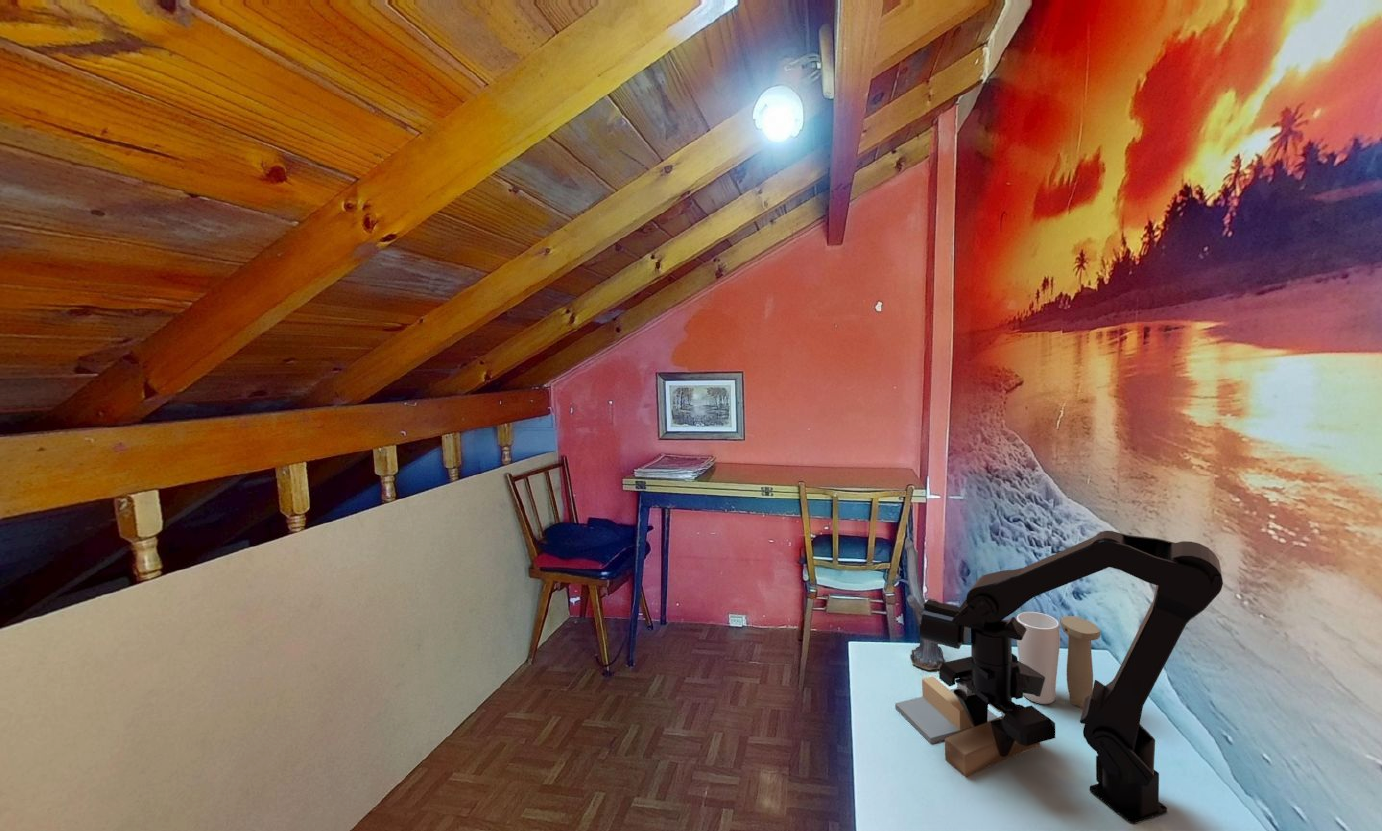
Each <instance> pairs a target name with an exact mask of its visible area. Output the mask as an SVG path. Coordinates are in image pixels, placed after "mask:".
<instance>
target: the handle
mask: <svg viewBox="0 0 1382 831" xmlns="http://www.w3.org/2000/svg"><path fill="white" fill-rule="evenodd" d="M1059 619H1060V620H1059V625H1060V626H1061V629H1062V630H1063V632H1064V633H1065V634H1066V635H1067V636H1068V644H1067V659H1066V661H1067V662H1066V685H1067V690H1068V694H1069V703H1071V705H1073V706H1077V707H1078V708H1081V709H1083V706H1084V702H1085V698H1086V697H1088V696H1089V695H1090V694H1091V693H1092V691H1093V686H1094V668H1093V667H1094V666H1093V655H1092V641H1096V640H1098V639H1099V638H1100V637H1101V630H1100V629H1099V627H1098V626H1097V625H1096V624H1095V623H1093V622H1092V621H1090V620H1087V619H1085V618H1083V617H1079V616H1073V615H1067V616H1066V615H1065V616H1062V617H1060V618H1059Z"/></svg>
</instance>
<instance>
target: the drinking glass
mask: <svg viewBox="0 0 1382 831" xmlns="http://www.w3.org/2000/svg"><path fill="white" fill-rule="evenodd" d="M1016 620H1017V621H1018V622H1019V623H1021V624H1022V625H1023V626H1024V627H1025V628H1026V632H1025V634H1024V637H1023V639H1022V640H1016V644H1017V655H1018V661H1019V662H1021V663H1023V664H1025V665H1027V666H1029V667H1030V668H1032V669H1033V670H1035V671H1037V672H1038V673H1040V674H1041V675H1043V676H1044V677H1045V681H1044V684H1043V688H1042V691H1041V695H1040V696H1039V697H1038V696H1035V695H1033V694H1026V693H1023V697H1025V698H1027V700H1029V701H1030V702H1033V703H1036V704H1042V705H1047V704H1052V703H1053V702H1054V701H1055V700H1056V698H1057V697H1056V690H1057V689H1056V687H1057V686H1056V685H1057V676H1058V667H1059V658H1060V657H1059V655H1060V649H1061V648H1060V645H1061V635H1060V621H1058V620H1057V618H1055V617H1053V616H1051V615H1049V614H1046V613H1042V612H1036V611H1024V612H1021V613H1018V614H1017V616H1016Z"/></svg>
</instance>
